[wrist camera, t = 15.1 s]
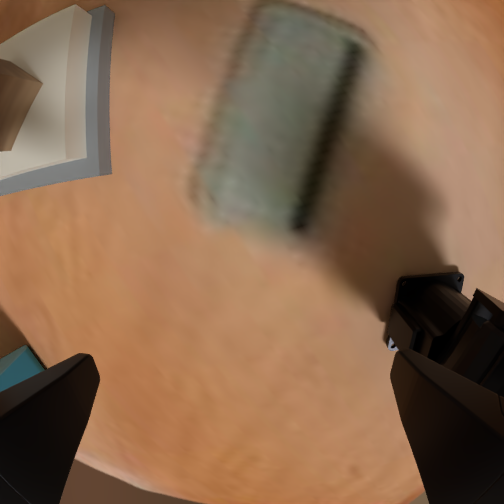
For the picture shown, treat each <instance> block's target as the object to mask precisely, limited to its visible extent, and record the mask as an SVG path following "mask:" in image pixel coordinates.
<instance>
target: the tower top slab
mask: <svg viewBox="0 0 504 504" xmlns="http://www.w3.org/2000/svg"><path fill="white" fill-rule="evenodd" d="M91 21H92V15H90V14H89V13H87V12H86V11H85V10H83V9H82V8H81V7H79V6H78V5H76V4H74V5H72V6H70V7H67V8H65V9H63V10H61V11H59V12H57V13H54V14H52V15H50V16H48V17H46V18H44V19H42V20H41V21H39V22H37V23H35V24H33V25H31V26H30V27H28V28H26V29H24V30H22V31H21V32H19V33H17V34H16V35H14V36H12V37H11V38H9V39H8V40H6V41H5V42H3V43H1V44H0V59H4V60H7V61H11V62H12V63H14V64H15V65H17V66H18V67H20V68H21V69H23V70H24V71H26V72H27V73H29V74H30V75H32V76H33V77H34V78H36V79H37V80H39V81H40V82H42V83H43V85H42V87H41V88H40V90H39V92H38V94H37V96H36V98H35V100H34V101H33V103H32V105H31V107H30V109H29V111H28V113H27V115H26V118H25V120H24V122H23V124H22V126H21V128H20V131H19V133H18V135H17V138H16V140H15V142H14V145H13V147H12V150H11V151H2V152H0V180H2V179H6V178H9V177H12V176H16V175H19V174H23V173H26V172H30V171H33V170H37V169H41V168H45V167H49V166H53V165H57V164H61V163H65V162H70V161H74V160H79V159H84V158H87V151H86V119H85V104H86V73H87V58H88V46H89V37H90V28H91Z"/></svg>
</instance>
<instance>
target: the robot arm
mask: <svg viewBox="0 0 504 504" xmlns="http://www.w3.org/2000/svg"><path fill="white" fill-rule="evenodd" d="M458 277H459V279H458ZM457 279H458V280H457ZM405 281H406V283H405V284H404V285H403V286H402V284H403V282H405ZM463 281H464V275H463V274H462V273H460V272H451V273H439V274H427V275H414V276H403V277H401V278H399V280H398V282H397V288H396V295H395V301H394V304H393V305H392V309H391V315H390V320H389V326H388V331H387V333H388V340H387V347H388V349H389V350H390V351H394V350H398V351H397V352H396V354H395V357H394V361H393V365H392V369H391V373H390V379H391V383H392V387H393V390H394V394H395V398H396V402H397V406H398V410H399V414H400V418H401V421H402V424H403V427H404V430H405V432H406V435H407V438H408V441H409V443H410V446H411V449H412V452H413V455H414V458H415V461H416V464H417V467H418V470H419V473H420V476H421V479H422V482H423V485H424V488H425V491H426V495H427V498H428V501H429V504H504V303H503V302H501V301H499V300H498V299H496V298H494V297H492V296H490V295H489V294H487V293H485V292H483V291H481V290H479V289H478V288H477V289H476V291H475V293H474V294H473V296H474V297H473V299H472V301H471V300H469V299H468V298H467V297H466V296H464V295H463V294H462V293H461V291H462V286H463ZM393 343H394V345H392V344H393ZM391 345H392V346H391ZM99 383H100V375H99V372H98V370H97V367H96V364H95V362H94V359H93V357H92V356H91V355H90V354H84V353H78V354H76V355H74V356H72V357H70V358H68V359H66V360H64V361H62V362H60V363H58V364H56V365H54V366H52V367H50V368H48V369H46V370H44V371H42V372H40V373H38V374H36V375H34V376H32V377H30V378H28V379H26V380H24V381H22V382H20V383H18V384H15V385H13V386H11V387H9V388H7V389H5V390H3V391H1V392H0V504H59V503H60V500H61V496H62V493H63V490H64V487H65V484H66V481H67V478H68V474H69V472H70V469H71V466H72V463H73V460H74V458H75V455H76V452H77V449H78V447H79V444H80V441H81V439H82V436H83V434H84V431H85V428H86V426H87V423H88V420H89V417H90V414H91V410H92V407H93V403H94V400H95V396H96V393H97V389H98V386H99Z"/></svg>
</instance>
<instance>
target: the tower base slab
mask: <svg viewBox="0 0 504 504" xmlns="http://www.w3.org/2000/svg"><path fill="white" fill-rule="evenodd" d="M87 13H89V14H90V15H92V21H91V28H90V37H89V46H88V58H87V73H86V104H85V119H86V151H87V158H84V159H79V160H74V161H70V162H65V163H61V164H57V165H53V166H49V167H45V168H41V169H37V170H33V171H30V172H26V173H23V174H19V175H16V176H12V177H9V178H6V179H2V180H0V196H2V195H6V194H10V193H14V192H19V191H23V190H27V189H32V188H36V187H41V186H46V185H51V184H56V183H61V182H66V181H72V180H78V179H83V178H89V177H96V176H102V175H109V174H112V168H111V152H110V123H109V92H110V64H111V49H112V37H113V27H114V18H115V13H114V12H113V11H111V10H110V9H109V8H108V7H107V6H106V5H104V6H101V7H98V8H95V9H93V10H90V11H87Z"/></svg>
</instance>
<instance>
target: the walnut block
mask: <svg viewBox="0 0 504 504" xmlns="http://www.w3.org/2000/svg"><path fill="white" fill-rule="evenodd" d="M42 85H43V83H42V82H40V81H39V80H37V79H36V78H34V77H33V76H32V75H30V74H29V73H27V72H26V71H24V70H23V69H21V68H20V67H18V66H17V65H15V64H14V63H12V62H11V61H7V60H4V59H0V152H2V151H11V150H12V147H13V145H14V142H15V140H16V138H17V135H18V133H19V131H20V128H21V126H22V124H23V122H24V120H25V118H26V115H27V113H28V111H29V109H30V107H31V105H32V103H33V101H34V100H35V98H36V96H37V94H38V92H39V90H40V88H41V87H42Z"/></svg>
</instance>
